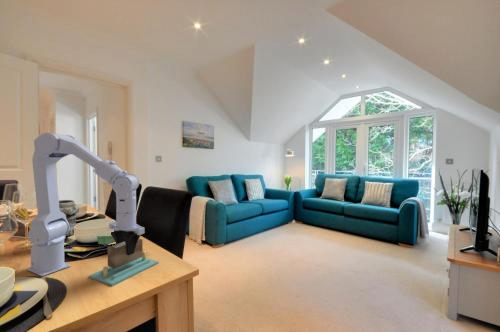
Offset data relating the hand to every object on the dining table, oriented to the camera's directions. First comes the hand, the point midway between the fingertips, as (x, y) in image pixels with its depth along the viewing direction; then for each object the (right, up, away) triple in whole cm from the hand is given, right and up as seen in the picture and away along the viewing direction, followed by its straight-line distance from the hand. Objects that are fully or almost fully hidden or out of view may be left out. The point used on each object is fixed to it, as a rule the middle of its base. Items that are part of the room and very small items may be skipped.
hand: (126, 253), depth 78 cm
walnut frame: (0, -3, 0) cm, 3 cm away
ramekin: (-20, -5, +24) cm, 31 cm away
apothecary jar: (-38, -4, +22) cm, 44 cm away
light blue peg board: (0, -6, 0) cm, 6 cm away
